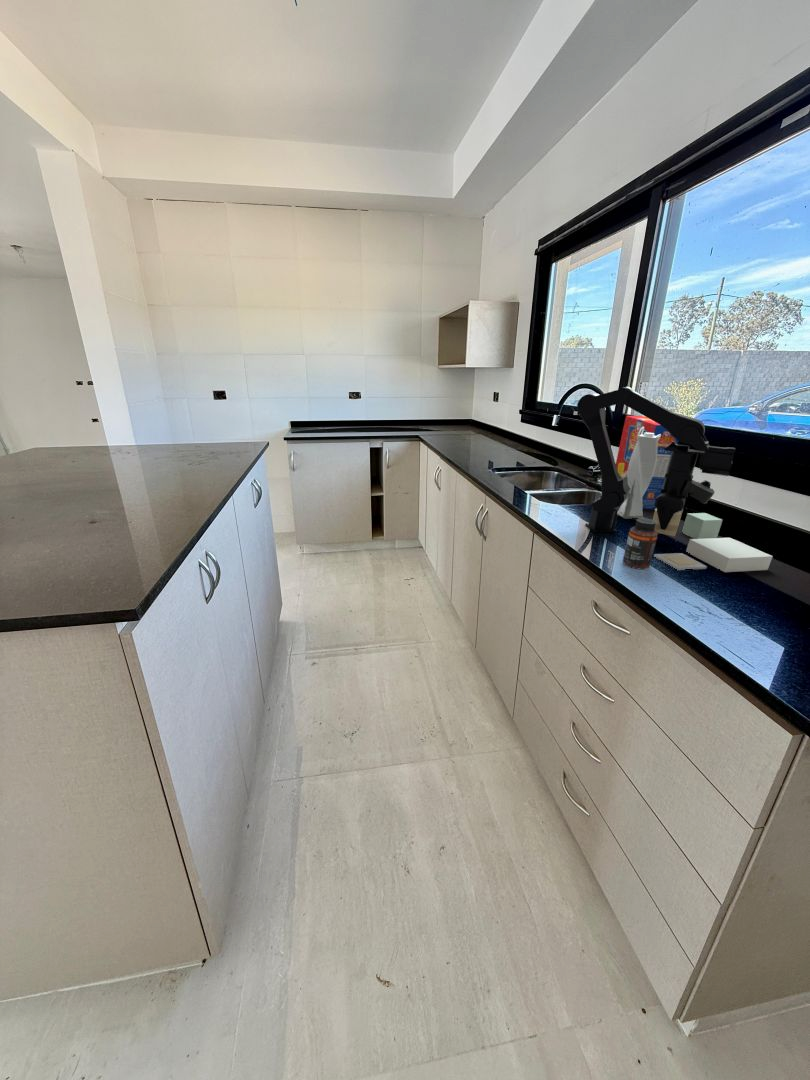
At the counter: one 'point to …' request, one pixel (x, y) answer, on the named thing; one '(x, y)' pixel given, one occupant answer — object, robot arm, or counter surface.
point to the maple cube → (671, 526)
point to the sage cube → (701, 526)
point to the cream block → (729, 554)
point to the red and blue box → (663, 457)
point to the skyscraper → (640, 474)
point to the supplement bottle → (640, 544)
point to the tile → (680, 561)
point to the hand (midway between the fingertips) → (664, 526)
